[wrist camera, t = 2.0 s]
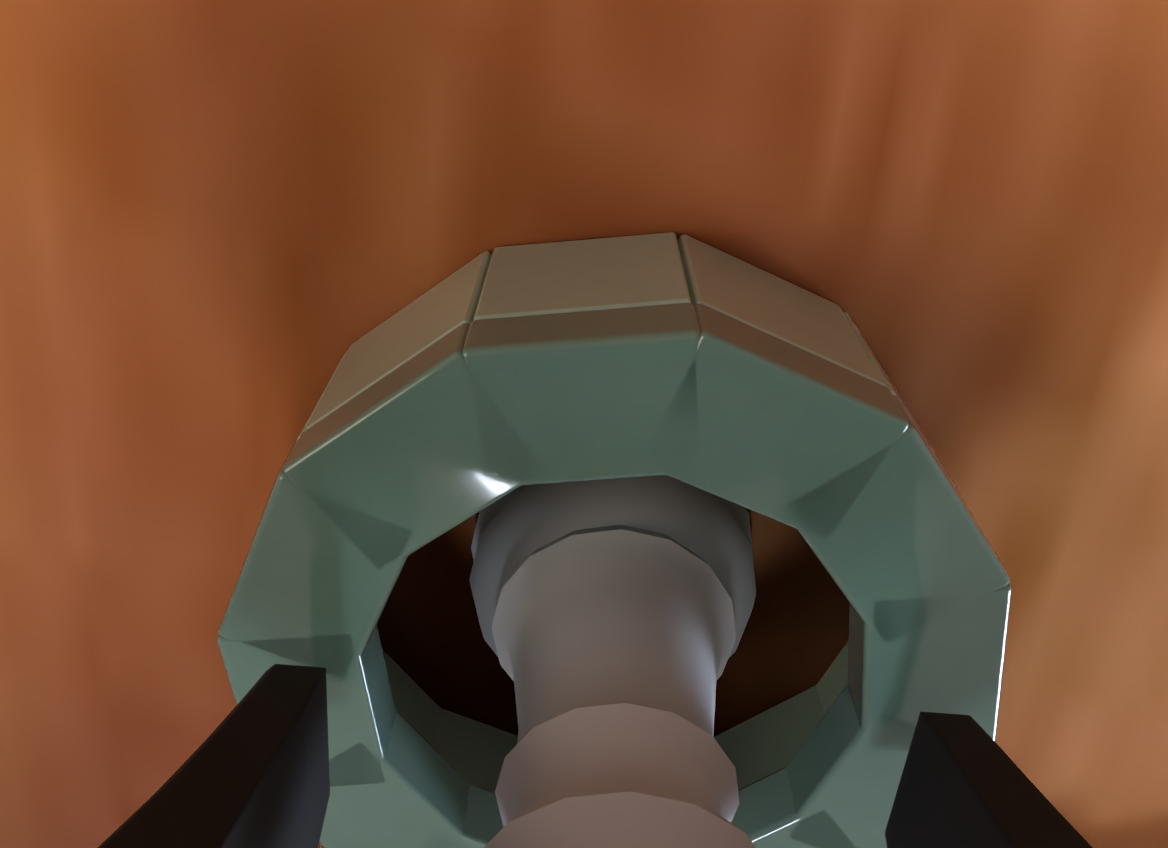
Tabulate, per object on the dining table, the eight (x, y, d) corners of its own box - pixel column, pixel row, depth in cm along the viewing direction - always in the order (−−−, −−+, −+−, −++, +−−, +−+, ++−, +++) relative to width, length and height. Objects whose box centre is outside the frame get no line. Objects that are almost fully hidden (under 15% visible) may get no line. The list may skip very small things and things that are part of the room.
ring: (226, 654, 18) (142, 826, 15) (435, 118, 14) (384, 188, 11) (736, 833, 20) (764, 1024, 17) (1053, 403, 16) (1175, 541, 13)
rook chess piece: (734, 653, 18) (821, 1144, 11) (473, 641, 18) (392, 1126, 11) (766, 420, 16) (899, 838, 9) (474, 406, 16) (377, 813, 9)
